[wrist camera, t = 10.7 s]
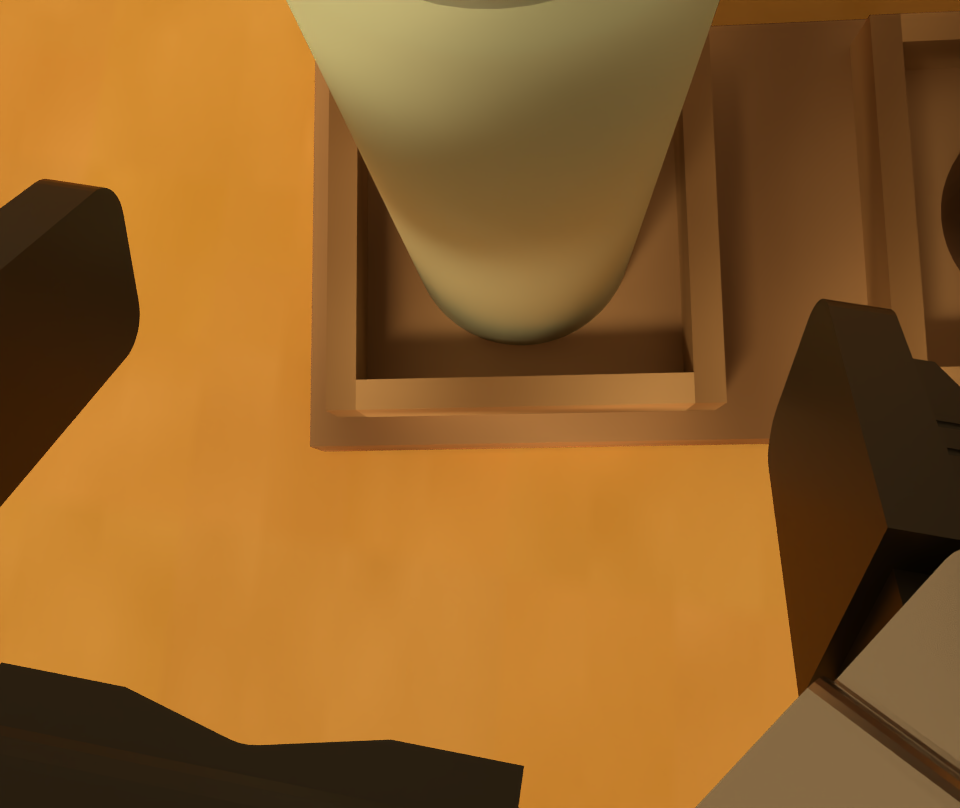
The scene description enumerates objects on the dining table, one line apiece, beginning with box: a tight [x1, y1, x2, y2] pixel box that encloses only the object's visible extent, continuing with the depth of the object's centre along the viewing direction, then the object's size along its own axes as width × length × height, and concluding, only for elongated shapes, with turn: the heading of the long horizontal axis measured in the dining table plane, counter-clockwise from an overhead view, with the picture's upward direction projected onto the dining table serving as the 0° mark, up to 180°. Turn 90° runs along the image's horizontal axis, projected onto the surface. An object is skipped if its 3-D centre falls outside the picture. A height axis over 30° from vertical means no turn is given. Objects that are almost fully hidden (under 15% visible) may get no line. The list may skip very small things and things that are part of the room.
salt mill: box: [286, 0, 719, 345], centre depth 12 cm, size 5×5×15 cm
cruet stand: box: [310, 11, 960, 451], centre depth 19 cm, size 20×9×2 cm, turn 91°
